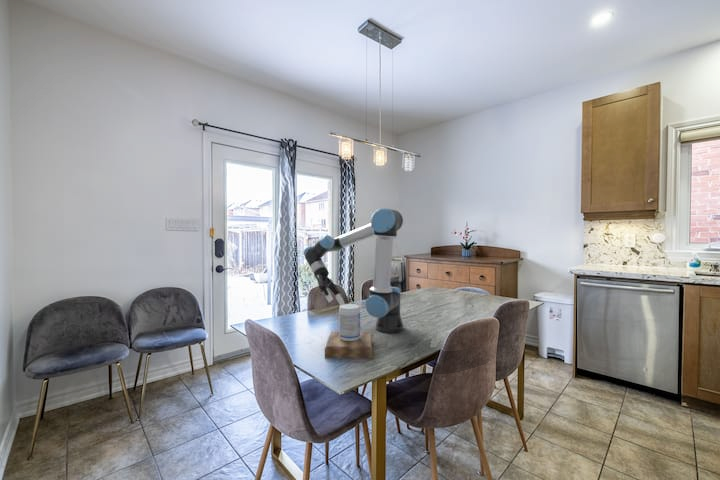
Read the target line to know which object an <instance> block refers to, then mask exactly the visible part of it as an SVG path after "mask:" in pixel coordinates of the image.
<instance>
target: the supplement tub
mask: <svg viewBox="0 0 720 480" xmlns="http://www.w3.org/2000/svg"><path fill="white" fill-rule="evenodd" d="M338 308H339V309H338V324H339V325H338V330H339V331H338V332H339V338H340V339H341V340H343V341H356V340H358V339H359V338H360V332H361V308H360V305H359V304H355V303H345V304H343V305H341V306H340V305H339V307H338Z"/></svg>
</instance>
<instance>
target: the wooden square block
mask: <svg viewBox="0 0 720 480" xmlns="http://www.w3.org/2000/svg"><path fill="white" fill-rule="evenodd" d="M371 332H372V331H360V338H359V339H358V340H356V341H343V340H341V339H340V338H339V331H336V330H335V331H332V330H331V331H330V333H329V337H328V339H327V342H326V344H325V347H324V359H339V360H340V359H344V360H345V359H347V360H348V359H349V360H350V359H353V360H354V359H355V360H372V359H373V335H372V333H371Z"/></svg>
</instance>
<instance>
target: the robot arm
mask: <svg viewBox="0 0 720 480" xmlns="http://www.w3.org/2000/svg"><path fill="white" fill-rule="evenodd" d="M403 224H404V218H403V215H402V214H401V213H400V212H399V211H398V210H396V209H390V208H379V209H377V210H376V211H374V212H373V214H372V215H371V218H370V223H368V224H366V225H364V226H361V227H359V228H356V229H354V230H351V231H349V232H346V233H344V234H341V235H339V236H337V237H336V236H335V237H334V238H333V237H332V236H331V235H328V234H324V235H323V236H322V237H320V239H319V240H318V241H317V243H315V245H314V246H313V245H309V246H307V247H305V248H304V250H303V252H302V253H303V256H304V258H305V260H306V262H307V263H308V266H309V267H310V269H311V272H312V273H313V275H314V277H315V279H316V281H317V285H318V289H319V290H320V292H321V293H323V294H324V296H325V299H326V301H327V302H328V303H330V302H332V301H333V300H334V298H333V295H332V294H331V292H332V293H333V294H334V296H335V299H336V301H337V302H338V304H339V306H341V305H344V304H346V303H345V301H344V299H343V297H342V295H341V294H342V292H341V291H340V290H339V289H338V287H337V286H336V284H335V283H334V282H333V280H332V278H329V277H328V276H329V274H330V272H329V270H328V269H327V266H326V264H325V263H324V261H323V259H322V257H324V256H325V255H326V254H327V253H330V252H339V251H342V250H343V249H345V248H348V247H350V246H353V245H355V244H356V245H357V244H358V243H361V242H364V241H366V240H369V239H372V238H375V250H374V266H373V277H372V278H373V279H372V285H371V287H369V293H368V297H367V298H366V300H365V305H364V307H365V310H366V312H367V313H368V315H370V316H371V317H373V318H377V320H376V323H375V330H377V331H378V332H380V333H386V334H391V333H392V334H394V333H400V332H402V331H403V330H404V323H403V322H404V321H403V320H402V317H401V295H402V294H401V289H400V287H398V286H391V277H392V275H391V273H392V263H393V247H394V246H393V245H394V239H396V237H397V235H398V231H400V229H401V228H402V227H403Z"/></svg>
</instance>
